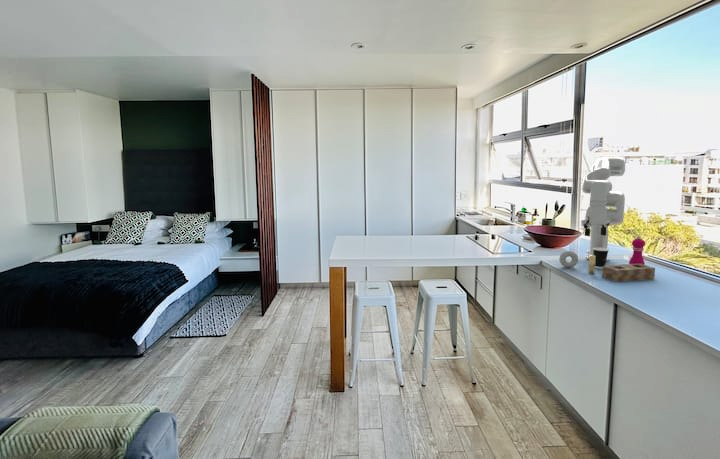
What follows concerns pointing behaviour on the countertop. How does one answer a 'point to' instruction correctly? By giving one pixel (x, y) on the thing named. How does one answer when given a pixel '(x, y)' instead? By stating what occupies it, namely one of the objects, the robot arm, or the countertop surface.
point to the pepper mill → (637, 251)
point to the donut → (567, 254)
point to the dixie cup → (600, 257)
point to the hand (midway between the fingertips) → (595, 235)
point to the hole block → (628, 272)
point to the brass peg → (591, 264)
